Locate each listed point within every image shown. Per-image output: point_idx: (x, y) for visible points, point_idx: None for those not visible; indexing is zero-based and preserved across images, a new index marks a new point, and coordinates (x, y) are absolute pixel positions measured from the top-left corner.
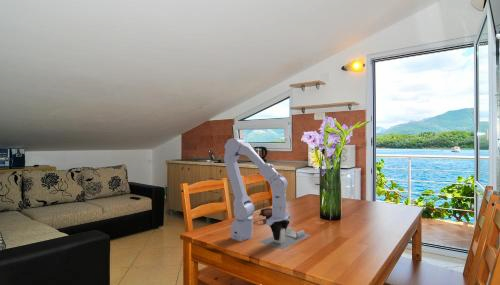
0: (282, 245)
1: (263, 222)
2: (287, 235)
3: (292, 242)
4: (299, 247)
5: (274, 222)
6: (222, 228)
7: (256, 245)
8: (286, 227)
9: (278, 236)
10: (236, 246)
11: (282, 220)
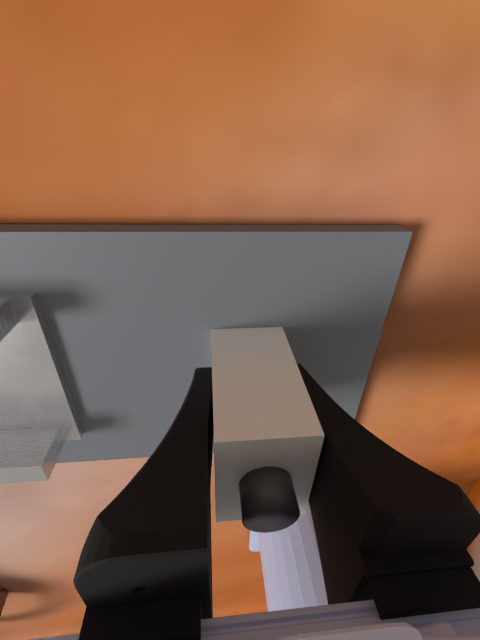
0: (318, 289)
1: (3, 601)
2: (66, 399)
3: (172, 266)
4: (178, 150)
5: (473, 607)
6: (245, 609)
7: (365, 425)
8: (170, 454)
9: (320, 386)
10: (434, 471)
11: (201, 616)
